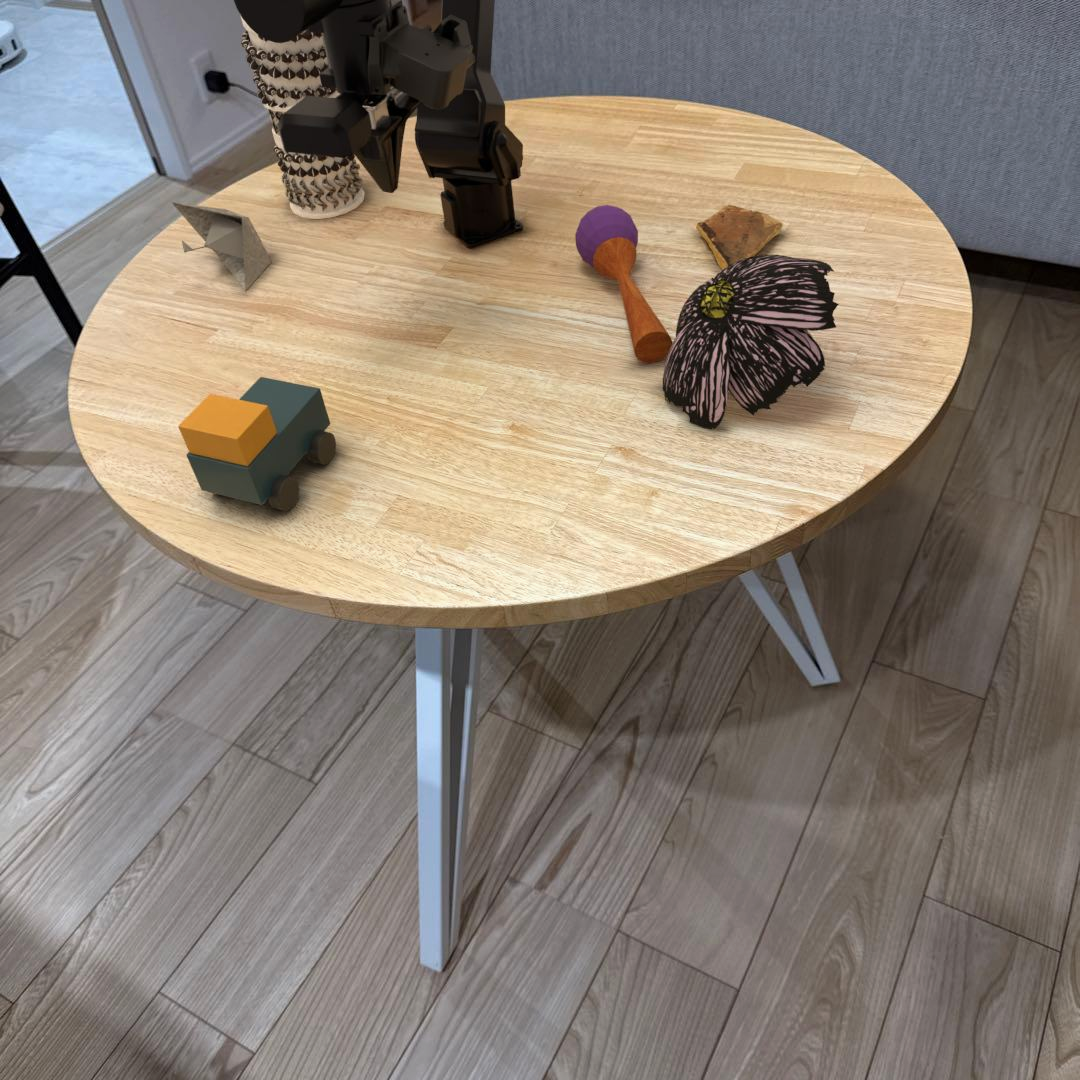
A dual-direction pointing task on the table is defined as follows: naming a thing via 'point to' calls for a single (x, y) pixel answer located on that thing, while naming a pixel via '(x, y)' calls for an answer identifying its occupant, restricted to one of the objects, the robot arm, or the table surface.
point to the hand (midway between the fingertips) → (390, 190)
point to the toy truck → (258, 441)
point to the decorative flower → (748, 336)
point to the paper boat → (228, 240)
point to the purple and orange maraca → (622, 275)
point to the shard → (737, 233)
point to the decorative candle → (284, 83)
